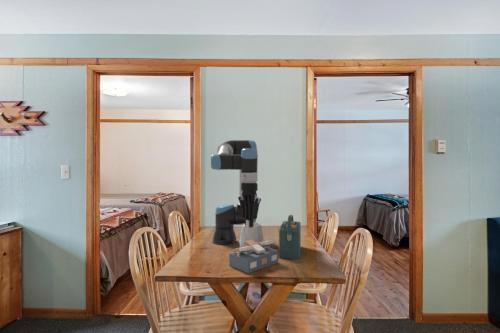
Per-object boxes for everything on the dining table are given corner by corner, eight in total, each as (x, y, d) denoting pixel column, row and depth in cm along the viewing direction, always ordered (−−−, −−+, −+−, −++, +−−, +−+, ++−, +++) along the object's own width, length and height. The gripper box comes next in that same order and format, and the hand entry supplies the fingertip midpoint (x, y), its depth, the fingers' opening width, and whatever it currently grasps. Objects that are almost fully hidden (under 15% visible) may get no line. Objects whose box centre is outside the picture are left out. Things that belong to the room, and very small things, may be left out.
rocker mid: (243, 245, 132) (244, 241, 132) (250, 243, 136) (251, 239, 135) (256, 255, 125) (258, 251, 125) (264, 253, 129) (265, 249, 128)
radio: (300, 259, 137) (300, 220, 137) (278, 258, 139) (278, 219, 139) (300, 246, 162) (300, 212, 162) (282, 245, 164) (282, 212, 164)
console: (228, 265, 127) (228, 249, 128) (259, 256, 142) (259, 241, 142) (248, 273, 118) (248, 255, 118) (278, 262, 132) (278, 246, 133)
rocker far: (253, 248, 137) (252, 243, 137) (260, 246, 140) (259, 242, 141) (267, 246, 130) (266, 241, 130) (274, 244, 133) (273, 239, 134)
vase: (266, 254, 146) (266, 226, 146) (240, 255, 143) (240, 227, 143) (261, 247, 159) (261, 221, 160) (237, 248, 157) (237, 222, 157)
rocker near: (232, 254, 127) (231, 249, 127) (240, 252, 130) (239, 247, 131) (246, 252, 120) (245, 247, 121) (254, 250, 124) (253, 245, 124)
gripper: (233, 182, 125) (233, 233, 125) (253, 182, 116) (253, 238, 115) (245, 181, 130) (245, 230, 130) (265, 182, 121) (265, 235, 120)
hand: (249, 234), depth 122 cm, fingers closed
